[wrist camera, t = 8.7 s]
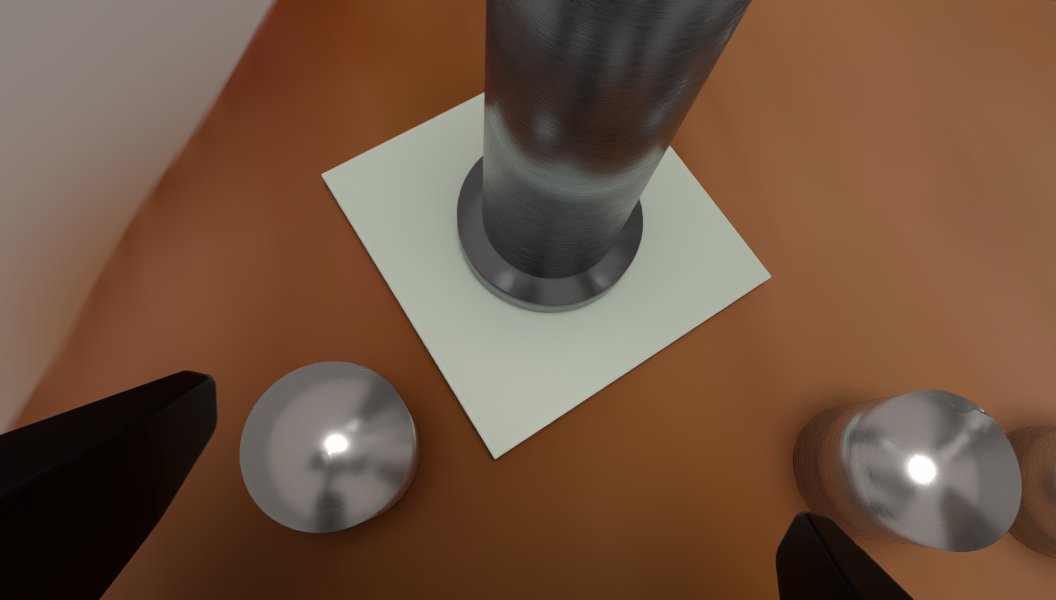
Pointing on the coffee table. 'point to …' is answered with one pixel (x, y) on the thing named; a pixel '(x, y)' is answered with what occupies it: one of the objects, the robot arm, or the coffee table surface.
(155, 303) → the coffee table surface
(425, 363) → the coffee table surface
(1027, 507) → the cylinder
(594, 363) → the pad
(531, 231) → the standoff
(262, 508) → the cylinder
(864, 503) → the cylinder
